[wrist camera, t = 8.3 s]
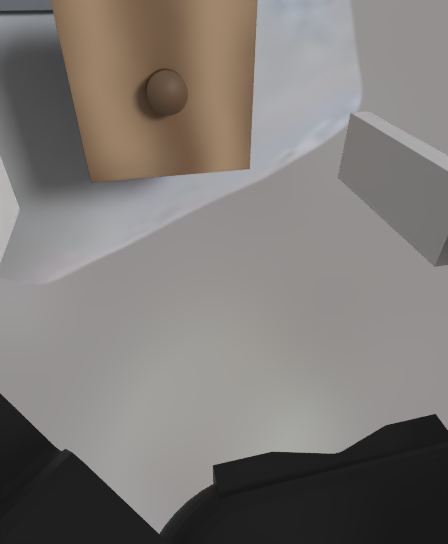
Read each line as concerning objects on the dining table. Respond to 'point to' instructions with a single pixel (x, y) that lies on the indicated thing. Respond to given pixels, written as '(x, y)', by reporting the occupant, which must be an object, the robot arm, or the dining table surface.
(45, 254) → the dining table surface
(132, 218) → the dining table surface
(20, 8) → the mat
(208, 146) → the lid
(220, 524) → the robot arm
